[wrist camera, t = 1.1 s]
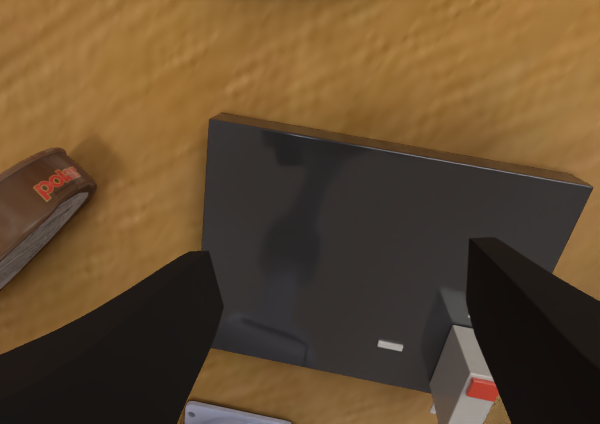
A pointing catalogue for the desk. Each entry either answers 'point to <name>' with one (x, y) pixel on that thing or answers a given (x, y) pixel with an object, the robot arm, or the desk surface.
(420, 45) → the desk surface
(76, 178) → the tin
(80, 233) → the desk surface
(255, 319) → the stove
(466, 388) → the red-tipped gray block
